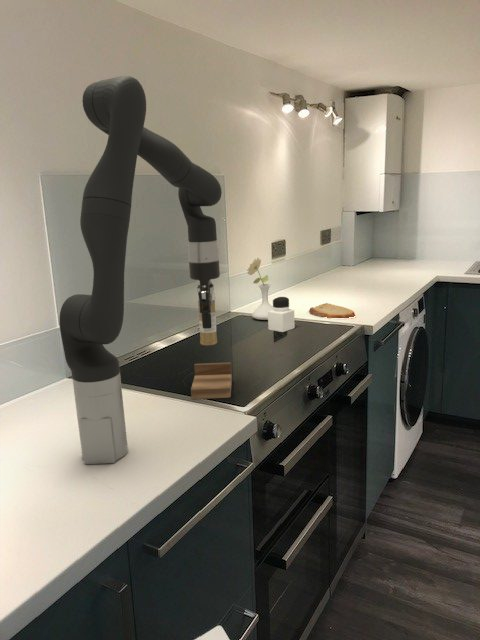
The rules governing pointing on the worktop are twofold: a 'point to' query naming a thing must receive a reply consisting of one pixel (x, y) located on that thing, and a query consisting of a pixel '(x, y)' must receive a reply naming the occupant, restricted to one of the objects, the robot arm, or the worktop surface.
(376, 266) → the worktop surface
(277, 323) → the medicine bottle
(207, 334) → the sprinkles bottle
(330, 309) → the slice of bread
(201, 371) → the dock
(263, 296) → the flower in vase
